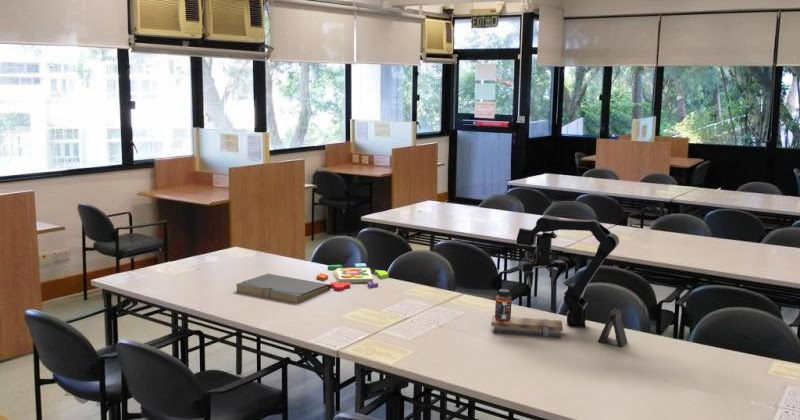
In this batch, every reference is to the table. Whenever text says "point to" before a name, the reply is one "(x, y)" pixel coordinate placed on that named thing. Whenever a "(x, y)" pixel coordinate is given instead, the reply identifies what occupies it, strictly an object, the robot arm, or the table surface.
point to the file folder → (282, 287)
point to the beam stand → (527, 332)
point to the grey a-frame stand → (618, 327)
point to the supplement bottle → (503, 305)
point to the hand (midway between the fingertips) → (541, 287)
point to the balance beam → (529, 323)
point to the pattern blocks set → (351, 276)
